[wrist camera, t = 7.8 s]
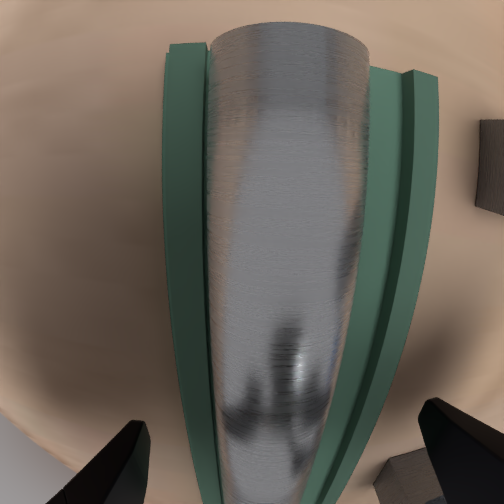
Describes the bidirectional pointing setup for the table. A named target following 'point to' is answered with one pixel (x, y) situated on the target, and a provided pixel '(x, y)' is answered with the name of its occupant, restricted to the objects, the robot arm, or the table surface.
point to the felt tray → (369, 271)
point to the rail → (282, 243)
